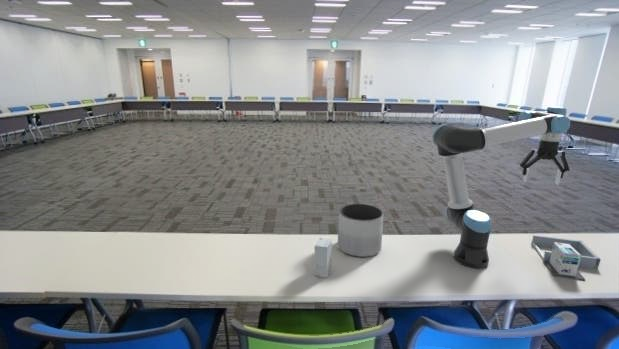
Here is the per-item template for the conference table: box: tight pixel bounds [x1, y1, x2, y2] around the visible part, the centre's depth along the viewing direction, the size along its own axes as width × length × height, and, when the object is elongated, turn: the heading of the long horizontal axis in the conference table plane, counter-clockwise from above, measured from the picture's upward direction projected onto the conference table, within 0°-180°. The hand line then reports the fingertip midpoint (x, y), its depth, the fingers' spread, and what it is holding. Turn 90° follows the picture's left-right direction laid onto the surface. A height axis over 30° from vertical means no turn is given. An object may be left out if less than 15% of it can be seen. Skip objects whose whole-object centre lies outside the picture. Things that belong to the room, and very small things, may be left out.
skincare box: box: [314, 237, 332, 279], centre depth 144 cm, size 8×6×15 cm
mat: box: [542, 260, 586, 281], centre depth 149 cm, size 12×12×1 cm
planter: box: [337, 203, 384, 258], centre depth 165 cm, size 22×22×20 cm
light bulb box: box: [549, 242, 582, 276], centre depth 148 cm, size 11×7×11 cm, turn 166°
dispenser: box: [531, 234, 601, 270], centre depth 162 cm, size 22×18×5 cm
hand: (540, 182), depth 161 cm, fingers open, 13 cm apart
